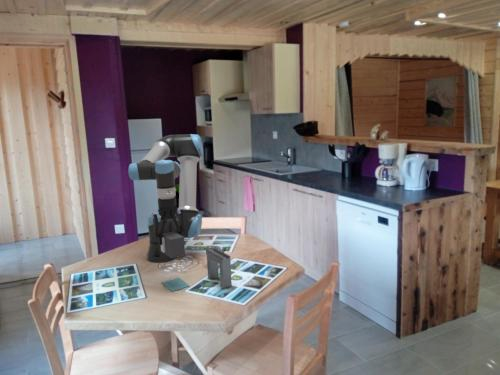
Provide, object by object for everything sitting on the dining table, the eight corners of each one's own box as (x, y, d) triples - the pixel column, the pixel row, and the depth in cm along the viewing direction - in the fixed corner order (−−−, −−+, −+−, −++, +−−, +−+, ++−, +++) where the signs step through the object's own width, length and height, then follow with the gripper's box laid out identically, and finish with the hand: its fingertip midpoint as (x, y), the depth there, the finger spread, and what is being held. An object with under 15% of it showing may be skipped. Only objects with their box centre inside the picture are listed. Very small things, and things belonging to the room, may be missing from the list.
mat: (161, 283, 180) (161, 282, 180) (178, 278, 185) (178, 277, 185) (172, 291, 171) (172, 290, 171) (189, 286, 176) (189, 285, 176)
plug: (171, 258, 169) (170, 239, 168) (160, 251, 179) (159, 233, 177) (185, 255, 173) (183, 236, 171) (173, 248, 182) (172, 230, 181)
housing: (208, 278, 184) (206, 249, 181) (215, 275, 186) (214, 247, 184) (223, 288, 173) (222, 258, 170) (231, 285, 175) (230, 256, 173)
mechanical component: (225, 268, 194) (224, 248, 193) (204, 267, 197) (203, 247, 195) (227, 266, 197) (226, 246, 195) (206, 265, 199) (205, 245, 198)
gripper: (148, 202, 165) (152, 257, 169) (191, 195, 175) (194, 247, 179) (141, 199, 171) (146, 252, 175) (183, 192, 181) (186, 243, 186)
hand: (170, 249), depth 177 cm, fingers closed on plug, 6 cm apart
